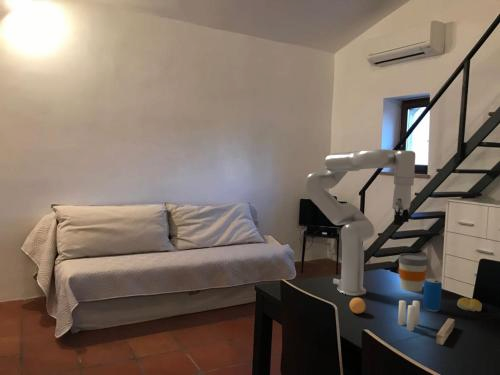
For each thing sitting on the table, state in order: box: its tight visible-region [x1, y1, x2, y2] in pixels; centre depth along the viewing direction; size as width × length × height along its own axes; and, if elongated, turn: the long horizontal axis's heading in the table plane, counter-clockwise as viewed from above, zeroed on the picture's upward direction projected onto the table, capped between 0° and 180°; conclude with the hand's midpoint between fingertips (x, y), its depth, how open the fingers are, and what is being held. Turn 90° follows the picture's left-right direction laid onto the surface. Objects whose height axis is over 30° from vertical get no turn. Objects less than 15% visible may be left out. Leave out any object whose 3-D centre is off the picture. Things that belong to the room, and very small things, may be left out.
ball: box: [349, 297, 366, 314], centre depth 168 cm, size 6×6×6 cm
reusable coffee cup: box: [398, 252, 428, 293], centre depth 199 cm, size 13×13×15 cm
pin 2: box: [412, 300, 421, 327], centre depth 158 cm, size 2×2×8 cm
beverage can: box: [422, 277, 443, 313], centre depth 173 cm, size 6×6×12 cm
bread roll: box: [456, 297, 483, 312], centre depth 176 cm, size 8×9×4 cm
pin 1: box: [406, 304, 415, 332], centre depth 153 cm, size 2×2×8 cm
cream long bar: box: [435, 317, 455, 346], centre depth 149 cm, size 2×18×3 cm, turn 144°
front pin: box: [397, 299, 407, 326], centre depth 158 cm, size 2×2×8 cm
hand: (401, 223), depth 176 cm, fingers open, 9 cm apart
